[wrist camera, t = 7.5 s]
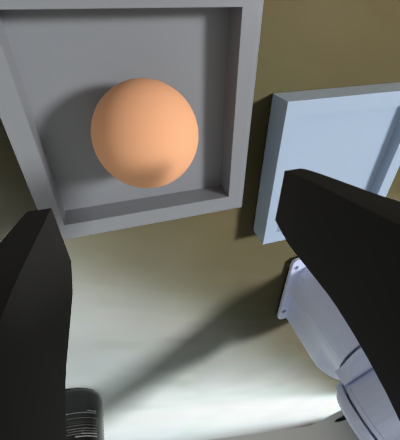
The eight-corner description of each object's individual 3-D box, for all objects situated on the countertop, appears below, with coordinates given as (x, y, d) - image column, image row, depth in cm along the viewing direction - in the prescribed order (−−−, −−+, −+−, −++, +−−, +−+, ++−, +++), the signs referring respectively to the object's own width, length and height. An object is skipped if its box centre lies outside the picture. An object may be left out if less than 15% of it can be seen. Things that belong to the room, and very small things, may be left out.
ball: (186, 154, 18) (213, 196, 15) (102, 168, 17) (107, 217, 13) (180, 63, 15) (212, 86, 11) (77, 73, 14) (76, 102, 10)
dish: (361, 208, 28) (375, 219, 27) (253, 230, 25) (262, 244, 24) (412, 81, 21) (434, 87, 20) (272, 93, 19) (288, 101, 17)
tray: (228, 189, 22) (241, 206, 20) (53, 219, 19) (50, 242, 17) (244, -21, 15) (266, -22, 13) (-37, -25, 12) (-58, -27, 10)
